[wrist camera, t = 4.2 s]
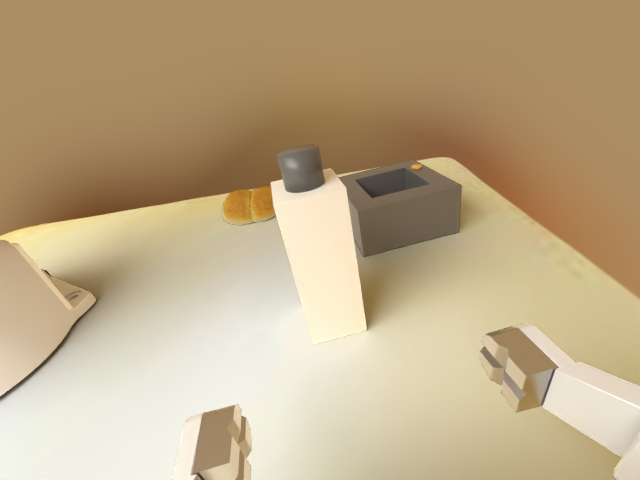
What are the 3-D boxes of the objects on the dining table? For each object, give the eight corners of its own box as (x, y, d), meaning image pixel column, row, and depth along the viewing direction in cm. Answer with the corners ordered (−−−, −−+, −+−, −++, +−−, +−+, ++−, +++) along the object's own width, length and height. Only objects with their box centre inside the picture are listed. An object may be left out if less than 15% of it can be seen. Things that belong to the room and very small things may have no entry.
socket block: (363, 256, 29) (357, 208, 27) (339, 215, 38) (333, 176, 35) (458, 232, 30) (461, 182, 27) (414, 197, 39) (413, 157, 36)
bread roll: (285, 219, 41) (278, 192, 39) (222, 232, 41) (211, 205, 39) (287, 197, 48) (281, 173, 46) (233, 207, 48) (225, 184, 46)
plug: (313, 345, 21) (262, 168, 15) (305, 307, 25) (262, 151, 18) (367, 330, 21) (340, 150, 15) (352, 295, 25) (325, 136, 18)
